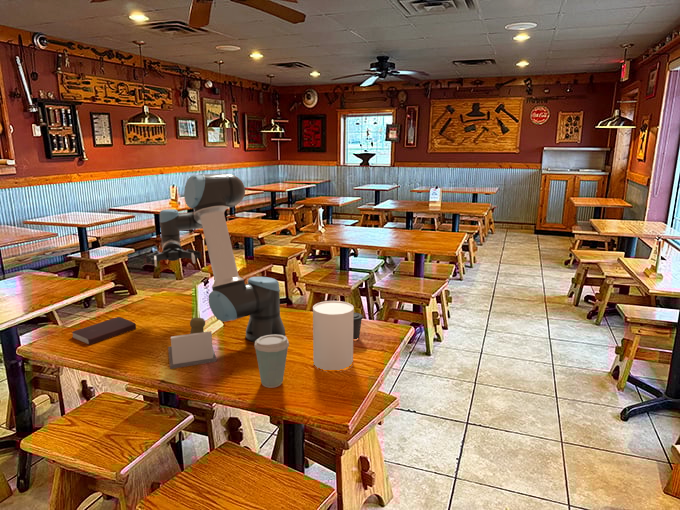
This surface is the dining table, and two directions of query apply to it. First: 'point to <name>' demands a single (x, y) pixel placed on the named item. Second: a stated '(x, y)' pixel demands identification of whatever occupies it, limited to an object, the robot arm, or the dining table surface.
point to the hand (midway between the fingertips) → (175, 261)
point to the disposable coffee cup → (271, 359)
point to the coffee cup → (356, 325)
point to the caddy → (191, 350)
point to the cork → (197, 325)
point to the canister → (333, 335)
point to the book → (103, 330)
